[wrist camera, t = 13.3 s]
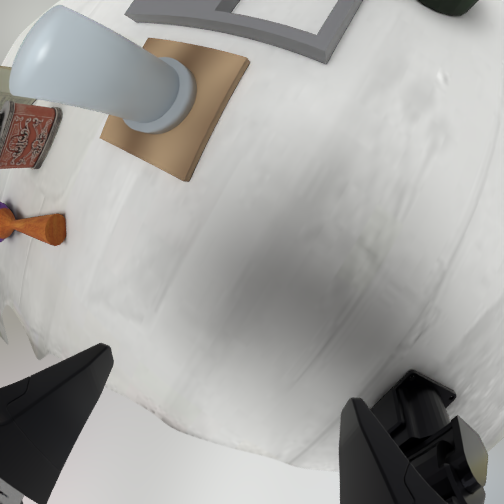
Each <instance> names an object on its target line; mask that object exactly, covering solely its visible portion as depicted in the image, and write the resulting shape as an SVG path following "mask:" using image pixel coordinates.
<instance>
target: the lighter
mask: <svg viewBox="0 0 504 504" xmlns="http://www.w3.org/2000/svg"><path fill="white" fill-rule="evenodd" d="M61 120H62V110H61V109H60V108H57V107H52V108H48V107H41V106H34V105H27V104H19V103H14V101H6V102H5V103H4V105H3V107H2V109H1V112H0V169H6V168H31V169H38V168H40V167H41V165H42V163H43V161H44V159H45V158H46V156H47V153H48V151H49V149H50V147H51V145H52V143H53V140H54V138H55V135H56V133H57V130H58V128H59V125H60V123H61Z"/></svg>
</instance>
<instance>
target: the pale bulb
mask: <svg viewBox="0 0 504 504" xmlns="http://www.w3.org/2000/svg"><path fill="white" fill-rule="evenodd" d="M9 90H10V93H11V94H12V95H13V96H20V97H27V98H33V99H39V100H45V101H50V102H55V103H61V104H66V105H70V106H75V107H80V108H84V109H88V110H93V111H97V112H101V113H105V114H109V115H113V116H116V117H120V118H123V120H124V122H125V123H126V124H127V125H128V126H129V127H130V128H132V129H134V130H137V131H141V132H145V133H148V134H162V133H165V132H168V131H170V130H172V129H173V128H175V127H176V126H178V125H179V124H180V123H181V122H182V121H183V120H184V119H185V118H186V116H187V115H188V114H189V112H190V111H191V109H192V107H193V104H194V102H195V99H196V94H197V83H196V79H195V77H194V75H193V73H192V72H191V71H190V70H189V69H188V68H187V67H185V66H184V65H183V64H181V63H180V62H179V61H177V60H175V59H173V58H169V57H159V58H158V57H156V56H155V55H153V54H151V53H150V52H148V51H147V50H145V49H143V48H142V47H140V46H138V45H137V44H135V43H133V42H132V41H130V40H128V39H127V38H125V37H123V36H122V35H120V34H118V33H116V32H114V31H113V30H111V29H109V28H107V27H105V26H103V25H102V24H100V23H98V22H96V21H94V20H92V19H90V18H88V17H86V16H84V15H82V14H80V13H78V12H76V11H74V10H71V9H69V8H67V7H65V6H62V5H57V6H55V7H53V8H51V9H50V10H48V11H47V12H46V13H45V14H44V15H43V16H42V17H41V18H40V19H39V20H38V21H37V22H36V23H35V24H34V26H33V27H32V28H31V30H30V31H29V33H28V34H27V36H26V37H25V39H24V40H23V42H22V44H21V46H20V48H19V50H18V52H17V55H16V57H15V60H14V62H13V65H12V69H11V73H10V79H9Z"/></svg>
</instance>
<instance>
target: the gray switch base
mask: <svg viewBox="0 0 504 504" xmlns="http://www.w3.org/2000/svg"><path fill="white" fill-rule="evenodd" d="M239 1H240V0H134V1H133V2H132V4H131V5H130V7H129V8H128V10H127V11H126V13H125V14H124V15H126V16H128V17H129V18H131V19H132V20H134V21H135V22H145V23H160V24H171V25H180V26H188V27H195V28H201V29H207V30H213V31H218V32H223V33H228V34H233V35H237V36H241V37H245V38H249V39H253V40H257V41H261V42H264V43H268V44H271V45H274V46H277V47H281V48H284V49H287V50H290V51H293V52H296V53H298V54H301V55H304V56H307V57H309V58H312V59H314V60H317V61H320V62H322V63H324V64H327V62H328V60H329V59H330V57H331V55H332V53H333V51H334V50H335V48H336V46H337V44H338V43H339V41H340V39H341V37H342V35H343V34H344V32H345V30H346V28H347V27H348V25H349V23H350V22H351V20H352V18H353V16H354V15H355V13H356V11H357V9H358V8H359V6H360V4H361V3H362V1H363V0H338V2H337V3H336V5H335V7H334V8H333V10H332V11H331V13H330V14H329V16H328V18H327V19H326V21H325V23H324V24H323V26H322V27H321V29H320V31H319V32H318V34H317V35H315V34H312V33H309V32H306V31H303V30H299V29H296V28H293V27H290V26H286V25H283V24H279V23H275V22H271V21H267V20H263V19H259V18H254V17H250V16H245V15H240V14H234V13H231V12H232V10H233V9H234V7H235V6H236V5H237V3H238V2H239Z"/></svg>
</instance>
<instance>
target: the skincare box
mask: <svg viewBox="0 0 504 504" xmlns="http://www.w3.org/2000/svg"><path fill="white" fill-rule="evenodd" d="M11 69H12V67H5V66H0V112H1V109H2V107H3V105H4V103H5V102H6V101H14V103H19V104H27V105H31V104H32V103H33V102H34V101H35V100H36V99H33V98H27V97H20V96H13V95H12V94H11V93H10V90H9V79H10V73H11Z"/></svg>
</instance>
